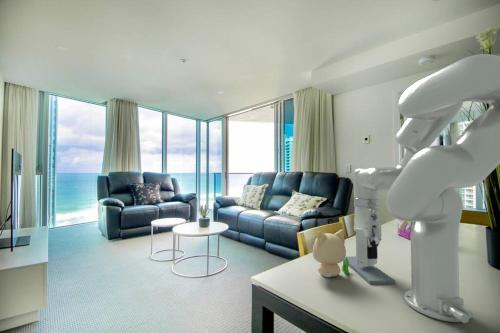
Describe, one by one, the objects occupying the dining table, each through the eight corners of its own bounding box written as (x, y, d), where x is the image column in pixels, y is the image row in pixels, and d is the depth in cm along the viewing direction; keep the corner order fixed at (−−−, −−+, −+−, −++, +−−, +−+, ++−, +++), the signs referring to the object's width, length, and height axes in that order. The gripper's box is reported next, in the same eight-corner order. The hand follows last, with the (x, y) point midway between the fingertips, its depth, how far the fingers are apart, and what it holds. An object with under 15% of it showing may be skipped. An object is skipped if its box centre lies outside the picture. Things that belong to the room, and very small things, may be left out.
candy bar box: (397, 234, 124) (396, 204, 125) (406, 234, 124) (405, 204, 125) (411, 241, 113) (410, 208, 114) (421, 241, 113) (420, 208, 114)
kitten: (338, 265, 83) (338, 224, 84) (359, 277, 74) (359, 231, 74) (302, 271, 78) (302, 227, 79) (320, 284, 69) (320, 235, 69)
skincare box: (367, 267, 76) (367, 231, 76) (355, 263, 80) (355, 228, 80) (377, 263, 79) (377, 228, 80) (365, 259, 83) (364, 226, 83)
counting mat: (395, 283, 70) (395, 280, 70) (369, 284, 69) (369, 280, 69) (361, 258, 90) (361, 256, 90) (341, 259, 89) (341, 256, 89)
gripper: (392, 206, 72) (393, 264, 71) (363, 200, 89) (363, 246, 88) (368, 207, 71) (369, 264, 71) (344, 200, 89) (344, 246, 88)
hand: (366, 254), depth 80 cm, fingers closed on skincare box, 6 cm apart
